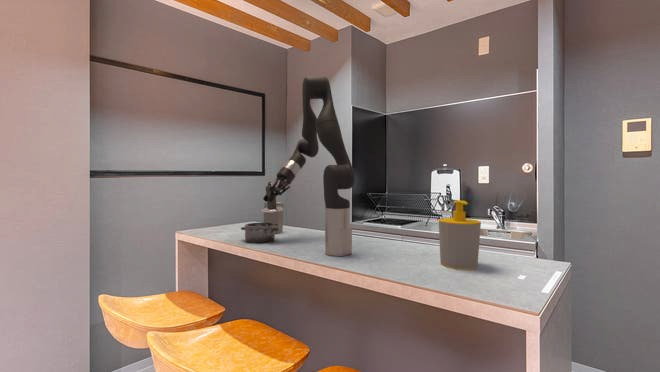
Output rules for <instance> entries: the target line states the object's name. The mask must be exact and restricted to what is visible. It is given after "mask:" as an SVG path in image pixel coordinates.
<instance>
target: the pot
mask: <svg viewBox="0 0 660 372" xmlns="http://www.w3.org/2000/svg"><path fill="white" fill-rule="evenodd" d="M240 230H241V231H244V242H245V243H248V244H268V243H273V242H275V240H276V238H275V237H276V236H275V235H276V234H275V231H279V228H275V224H274V223H263V222H251V223H246V224H244V226H241V227H240Z"/></svg>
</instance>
